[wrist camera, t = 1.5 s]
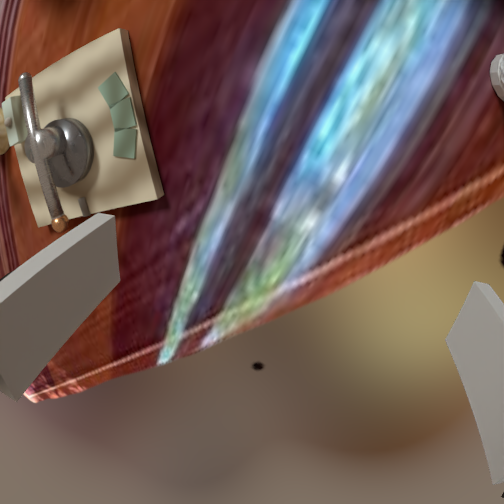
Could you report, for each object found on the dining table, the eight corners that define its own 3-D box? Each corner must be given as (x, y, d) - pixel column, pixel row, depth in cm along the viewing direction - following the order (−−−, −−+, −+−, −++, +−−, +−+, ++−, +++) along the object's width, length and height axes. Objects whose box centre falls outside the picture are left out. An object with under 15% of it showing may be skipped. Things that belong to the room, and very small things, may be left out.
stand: (14, 96, 35) (-10, 100, 30) (127, 30, 30) (103, 23, 25) (46, 223, 44) (25, 236, 39) (164, 195, 38) (145, 209, 34)
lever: (31, 85, 32) (-2, 89, 26) (75, 58, 30) (40, 56, 24) (66, 221, 40) (36, 240, 35) (112, 210, 38) (82, 230, 32)
